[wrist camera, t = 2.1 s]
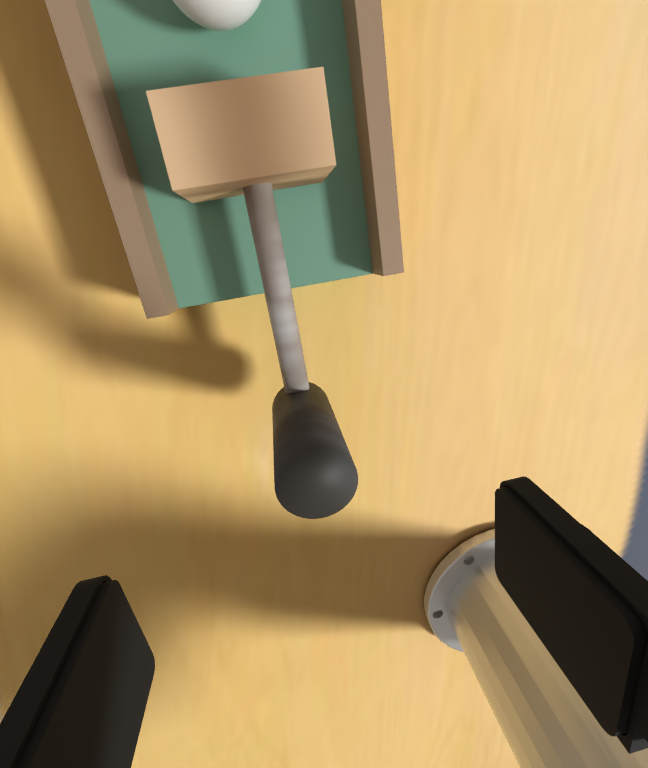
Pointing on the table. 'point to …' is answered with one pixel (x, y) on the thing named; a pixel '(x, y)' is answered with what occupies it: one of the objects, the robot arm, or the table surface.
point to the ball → (218, 12)
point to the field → (229, 215)
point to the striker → (267, 242)
